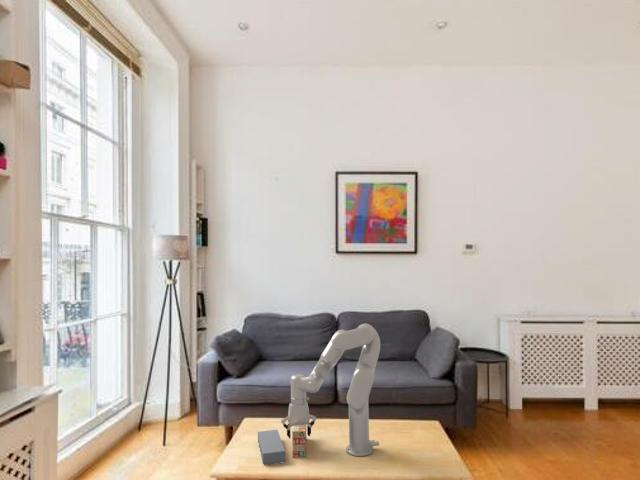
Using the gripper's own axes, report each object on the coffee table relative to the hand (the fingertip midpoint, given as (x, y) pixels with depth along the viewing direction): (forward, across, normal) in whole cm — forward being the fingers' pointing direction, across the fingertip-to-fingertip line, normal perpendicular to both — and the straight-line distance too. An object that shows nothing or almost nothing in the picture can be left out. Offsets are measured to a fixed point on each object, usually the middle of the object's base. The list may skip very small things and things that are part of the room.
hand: (299, 436), depth 209 cm
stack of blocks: (+6, 0, 0) cm, 6 cm away
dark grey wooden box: (+6, +14, 0) cm, 15 cm away
